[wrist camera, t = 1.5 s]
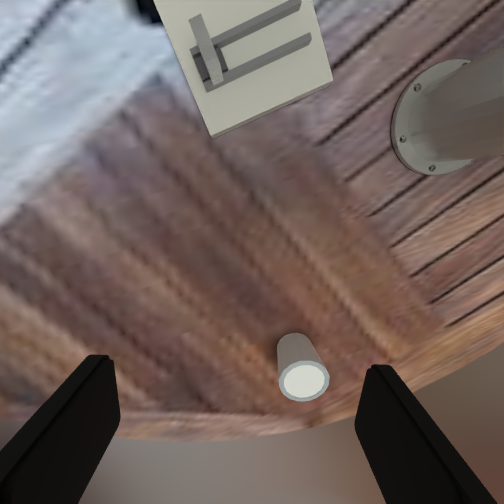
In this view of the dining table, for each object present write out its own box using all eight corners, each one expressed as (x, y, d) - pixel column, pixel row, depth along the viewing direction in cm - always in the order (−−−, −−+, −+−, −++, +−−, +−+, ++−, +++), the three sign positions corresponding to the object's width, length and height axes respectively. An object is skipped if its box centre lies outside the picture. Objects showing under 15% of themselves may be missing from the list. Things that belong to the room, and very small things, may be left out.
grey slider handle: (216, 41, 25) (210, 8, 21) (232, 82, 26) (229, 59, 22) (191, 53, 26) (178, 24, 21) (207, 93, 27) (199, 74, 22)
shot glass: (309, 367, 40) (322, 405, 33) (269, 362, 40) (274, 399, 33) (319, 332, 38) (335, 364, 32) (277, 326, 38) (285, 357, 31)
